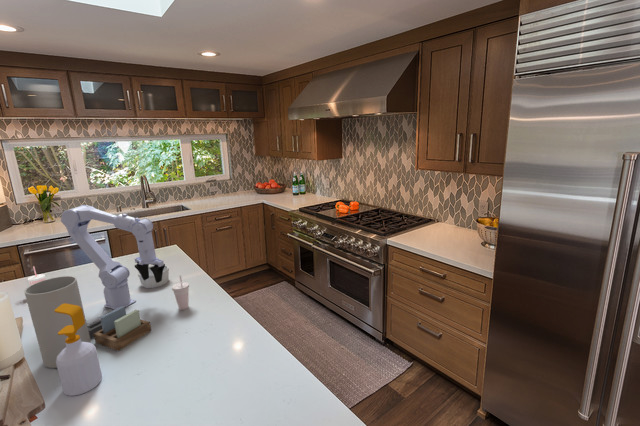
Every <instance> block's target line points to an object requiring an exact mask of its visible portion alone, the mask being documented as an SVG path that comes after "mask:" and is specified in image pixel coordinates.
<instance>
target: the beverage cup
mask: <svg viewBox="0 0 640 426" xmlns="http://www.w3.org/2000/svg"><path fill="white" fill-rule="evenodd" d="M32 268H33V272H34V275H31V276H29V277H28V278H27V281H28V283H29V286H31V285H33V284H35V283H38V282H40V281H43V280H46V274H45V273H44V274H43V273H41V274H37V272H36V267H35V265H33V266H32Z"/></svg>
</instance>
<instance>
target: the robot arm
mask: <svg viewBox="0 0 640 426" xmlns="http://www.w3.org/2000/svg"><path fill="white" fill-rule="evenodd" d="M93 220H95V221H98V222H103V223H107V224H112V225H113V226H114V228H116V229H120V230H122V231H127V232H129V233H130V232H131V234H132V235H133V236H134V237H135V240H136V243H137V250H138V254H139V256H138V257H136V258H134V262H135V264H134V268H135V269H136V270H137V271H138V272H139V273H140V274H141V276H142V278H143V280H146V279H148V278H149V271H148V267H149V266H153V265H154V266H153V267H151V268H150V270H151V271H152V272H153V274H154V277H155V281H156V283H158V282H160V281H162V273H163V270H164V267H165V265H166V264H165V263H164V260H161V259H160V258H158V257H157V253H156V249H155V244H154V243H155V242H154V237H153V233H152V231H153V228H154V223H153V222H152V221H151V220H150V219H149V218H145V217H144V218H141V219H140V217H134V216H130V215H128V213H120V214H118V215H115V214H113V213H110V212H106V211H104V210H101V209H98V208H95V207H94V206H92V205H87V204H81V205H79V206H76V207H72V208H70V209H69V208H68V209H66V210H64V211H62V213H61V217H60V222H61V223H62V224H63V225H64V227H65V228H66V231H67V233H68V235H69V236H70V238H71V239H72V240H73V241H74V242H75V244H76V245H78V247H79V248H80V249H81V250H82V251H83V253H84V254H85V255H86V256H87V257H88V258H89V259H90V260H91V261H92V262H93V264H94V265H95V266H96V267H97V268H98V270H99V272H98V278H99V279H100V280H101V284H102V285H103V287H104V288H103V296H104V301H105V304H104V305H103V306H104V307H106V308H108V309H112V310H115V309H117V308H119V307H121V306H124V307H125V308H126V307H128V306H130V305H133V304H134V303H136V302H137V300H136V299H132V298H131V294H130V290H129V289H130V288H129V283H128V281H129V280H128V279H129V277H130V275H131V274H130V270H129V268H127V266H124V265H123V264H122V263H120V261H116V260H115V261H114V260H113V259H112V258H111V257H110V256H109V254H108V253H107V252H106V251H105V250H104V249H103V248H102V246H101V245H100V244H99V243H98V242H97V241H96V239H95V238H93V236H92V235H91V234H90V233H89V231H87V230H88V226H89V224H90V222H91V221H93Z"/></svg>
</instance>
